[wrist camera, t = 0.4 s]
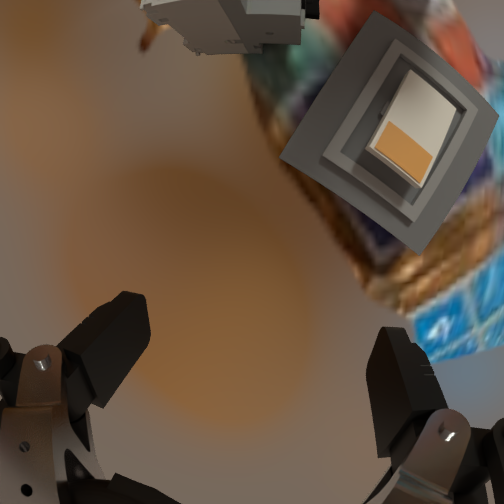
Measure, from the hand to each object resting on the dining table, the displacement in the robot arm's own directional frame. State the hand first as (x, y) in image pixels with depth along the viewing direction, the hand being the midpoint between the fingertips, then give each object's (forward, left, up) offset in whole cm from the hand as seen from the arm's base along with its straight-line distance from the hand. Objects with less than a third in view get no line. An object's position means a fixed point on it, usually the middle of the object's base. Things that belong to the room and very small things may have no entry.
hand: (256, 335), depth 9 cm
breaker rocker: (-14, +6, -18) cm, 24 cm away
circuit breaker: (-17, -14, -26) cm, 35 cm away
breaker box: (-14, +6, -26) cm, 30 cm away
